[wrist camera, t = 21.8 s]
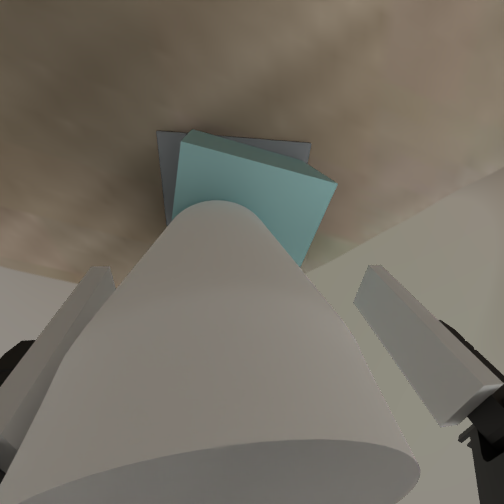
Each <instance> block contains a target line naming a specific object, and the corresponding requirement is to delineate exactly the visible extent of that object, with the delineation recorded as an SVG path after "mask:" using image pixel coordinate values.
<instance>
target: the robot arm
mask: <svg viewBox="0 0 504 504" xmlns="http://www.w3.org/2000/svg"><path fill="white" fill-rule="evenodd" d="M115 290H116V288H115V284H114V280H113V277H112V273H111V269H110V266H98V267H91V268H90V269H89V271H88V272H87V273H86V275H85V276H84V277H83V279H82V280H81V281H80V282H79V284H78V285H77V287H76V288H75V289H74V290H73V292H72V293H71V295H70V296H69V297H68V298H67V300H66V301H65V302H64V304H63V305H62V306H61V308H60V309H59V310H58V312H57V313H56V314H55V316H54V317H53V318H52V319H51V321H50V322H49V323H48V325H47V326H46V327H45V329H44V330H43V331H42V333H41V334H40V335H39V337H38V338H37V339H36V340H30V341H21V342H20V343H18V344H17V345H16V346H14V347H13V348H12V349H10V350H9V351H8V352H6V353H5V354H4V355H3V356H2V357H1V359H0V484H1V482H2V480H3V478H4V477H5V475H6V473H7V471H8V469H9V467H10V465H11V463H12V461H13V459H14V457H15V455H16V453H17V452H18V450H19V448H20V446H21V444H22V442H23V440H24V438H25V436H26V434H27V432H28V430H29V428H30V426H31V424H32V422H33V420H34V418H35V416H36V414H37V412H38V410H39V408H40V406H41V404H42V402H43V400H44V398H45V396H46V393H47V391H48V389H49V387H50V385H51V383H52V380H53V378H54V376H55V374H56V372H57V370H58V368H59V366H60V364H61V362H62V360H63V358H64V356H65V354H66V353H67V352H68V350H69V349H70V347H71V346H72V344H73V343H74V342H75V340H76V339H77V337H78V336H79V335H80V333H81V332H82V330H83V329H84V328H85V327H86V325H87V324H88V323H89V322H90V321H91V319H92V318H93V317H94V316H95V314H96V313H97V312H98V311H99V309H100V308H101V307H102V306H103V305H104V303H105V302H106V301H107V300H108V298H109V297H110V296H111V295H112V293H113V292H114V291H115ZM353 303H354V304H355V306H356V307H357V308H358V310H359V311H360V313H361V314H362V315H363V317H364V318H365V320H366V321H367V323H368V324H369V326H370V327H371V329H372V330H373V331H374V333H375V334H376V336H377V337H378V339H379V340H380V341H381V343H382V344H383V346H384V347H385V349H386V350H387V351H388V353H389V354H390V355H391V357H392V359H393V360H394V361H395V363H396V364H397V366H398V367H399V369H400V370H401V372H402V373H403V374H404V376H405V377H406V379H407V380H408V382H409V383H410V384H411V386H412V387H413V389H414V390H415V392H416V393H417V394H418V396H419V397H420V399H421V400H422V402H423V403H424V404H425V406H426V407H427V409H428V410H429V412H430V413H431V414H432V416H433V417H434V419H435V420H436V422H437V423H438V425H439V426H440V427H446V426H453V425H458V424H459V423H461V422H462V421H463V420H464V419H465V418H466V417H468V418H469V419H470V421H471V422H472V423H473V424H472V425H471V426H470V427H469V428H468V429H466V431H464V432H463V433H462V434H460V435H459V439H458V441H459V442H461V443H462V442H463V441H465V440H466V439H467V438H468V437H470V439H471V441H470V442H469V443H468V444H467V446H468V447H470V448H472V452H473V459H474V466H475V473H476V479H477V486H478V493H479V500H480V504H504V376H503V375H502V374H501V373H500V372H499V371H498V370H497V369H496V368H495V367H494V366H493V365H492V364H491V363H490V362H489V361H488V360H486V359H485V358H484V357H483V356H482V355H481V354H480V353H479V352H478V351H477V350H474V347H473V346H472V345H470V344H469V343H468V342H467V341H465V339H464V338H463V337H462V336H461V335H460V334H459V333H458V332H457V331H456V330H455V329H453V328H452V327H450V326H449V325H447V324H446V323H444V322H443V321H441V320H438V319H437V318H435V317H434V316H433V315H432V314H431V313H430V312H429V311H428V310H427V309H426V308H425V307H424V306H423V305H422V304H421V303H420V302H419V301H418V300H417V299H416V298H415V297H414V296H413V295H412V294H411V293H410V292H409V291H408V290H407V289H406V288H404V287H403V286H402V285H401V284H400V283H399V282H398V281H397V280H396V279H395V278H394V277H393V276H392V275H391V274H390V273H389V272H388V271H387V270H386V269H385V268H384V267H383V266H382V265H368V268H367V270H366V273H365V275H364V277H363V280H362V282H361V285H360V287H359V290H358V292H357V294H356V297H355V300H354V302H353Z"/></svg>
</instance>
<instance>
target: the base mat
mask: <svg viewBox="0 0 504 504" xmlns="http://www.w3.org/2000/svg"><path fill="white" fill-rule="evenodd" d="M156 133H157V142H158V151H159V160H160V169H161V178H162V187H163V196H164V205H165V214H166V224H167V226H168V225H169V224H170V223H171V221H172V213H173V204H174V196H175V187H176V179H177V170H178V162H179V153H180V145H181V141H182V140H183V138H184V137H185V136H186V135H187V134H188V133H181V132H168V131H156ZM215 136H218V135H215ZM218 137H222V138H225V139H229V140H232V141H236V142H239V143H243V144H246V145H250V146H253V147H257V148H260V149H264V150H267V151H271V152H274V153H278V154H281V155H285V156H288V157H292V158H295V159H299V160H302V161H303V162H305V163H306V164H307V163H308V158H309V153H310V148H311V143H306V142H294V141H281V140H269V139H256V138H244V137H231V136H218Z"/></svg>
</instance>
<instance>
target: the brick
mask: <svg viewBox="0 0 504 504" xmlns="http://www.w3.org/2000/svg"><path fill="white" fill-rule="evenodd" d="M337 185H338V184H337V183H336V182H334V181H333V180H331V179H330V178H328V177H327V176H325V175H323V174H322V173H320V172H319V171H317V170H316V169H314V168H313V167H311V166H310V165H308V164H306V163H305V162H303V161H302V160H299V159H295V158H292V157H288V156H285V155H281V154H278V153H274V152H271V151H267V150H264V149H260V148H257V147H253V146H250V145H246V144H243V143H239V142H236V141H232V140H229V139H225V138H222V137H218V136H215V135H212V134H208V133H205V132H201V131H198V130H194V129H192V130H191V131H190V132H189V133H188V134H187V135H186V136H185V137H184V138H183V140H182V141H181V145H180V153H179V162H178V170H177V179H176V187H175V196H174V204H173V213H172V220H173V219H174V218H175V217H176V216H177V215H178V214H179V213H180V212H182V211H183V210H185V209H186V208H188V207H190V206H192V205H194V204H197V203H200V202H204V201H211V200H222V201H229V202H233V203H236V204H239V205H242V206H244V207H246V208H247V209H249V210H250V211H252V212H253V213H254V214H255V215H256V216H257V217H258V218H259V219H260V220H261V221H262V222H263V224H264V225H265V226H266V227H267V229H268V230H269V231H270V232H271V233H272V235H273V236H274V237H275V238H276V239H277V241H278V242H279V243H280V244H281V245H282V247H283V248H284V249H285V250H286V251H287V253H288V254H289V255H290V256H291V257H292V259H293V260H294V261H295V262H296V263H297V265H298V266H299V267H300V266H301V264H302V262H303V260H304V258H305V255H306V253H307V251H308V249H309V247H310V244H311V242H312V240H313V238H314V235H315V233H316V231H317V229H318V227H319V224H320V222H321V220H322V218H323V216H324V213H325V211H326V209H327V207H328V205H329V202H330V200H331V198H332V196H333V193H334V191H335V189H336V187H337ZM171 222H172V221H171Z"/></svg>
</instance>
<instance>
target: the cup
mask: <svg viewBox="0 0 504 504" xmlns="http://www.w3.org/2000/svg"><path fill="white" fill-rule="evenodd" d="M419 477H420V468H419V465H418V463H417V461H416V459H415V457H414V455H413V453H412V451H411V449H410V448H409V445H408V444H407V441H406V440H405V438H404V436H403V434H402V432H401V430H400V428H399V426H398V424H397V422H396V421H395V418H394V416H393V415H392V413H391V411H390V409H389V407H388V405H387V403H386V401H385V399H384V397H383V395H382V394H381V391H380V389H379V387H378V385H377V383H376V381H375V379H374V378H373V375H372V373H371V371H370V369H369V367H368V365H367V363H366V361H365V359H364V357H363V355H362V352H361V350H360V348H359V346H358V344H357V342H356V340H355V338H354V336H353V334H352V333H351V331H350V330H349V328H348V327H347V325H346V324H345V323H344V321H343V320H342V318H341V317H340V316H339V315H338V313H337V312H336V311H335V310H334V308H333V307H332V306H331V305H330V303H329V302H328V301H327V300H326V299H325V297H324V296H323V295H322V294H321V293H320V291H319V290H318V289H317V288H316V286H315V285H314V284H313V283H312V282H311V281H310V279H309V278H308V277H307V276H306V274H305V273H304V272H303V271H302V270H301V268H300V267H299V266H298V265H297V263H296V262H295V261H294V260H293V259H292V257H291V256H290V255H289V254H288V253H287V251H286V250H285V249H284V248H283V247H282V245H281V244H280V243H279V242H278V241H277V239H276V238H275V237H274V236H273V235H272V233H271V232H270V231H269V230H268V229H267V227H266V226H265V225H264V224H263V222H262V221H261V220H260V219H259V218H258V217H257V216H256V215H255V214H254V213H253V212H252V211H250V210H249V209H247V208H246V207H244V206H242V205H239V204H236V203H233V202H229V201H222V200H211V201H204V202H200V203H197V204H194V205H192V206H190V207H188V208H186V209H185V210H183V211H182V212H180V213H179V214H178V215H177V216H176V217H175V218H174V219H173V220H172V222H171V223H170V224H169V225H168V226H167V228H166V229H165V230H164V231H163V232H162V234H161V235H160V236H159V237H158V239H157V240H156V241H155V242H154V243H153V245H152V246H151V247H150V248H149V250H148V251H147V252H146V253H145V254H144V256H143V257H142V258H141V259H140V261H139V262H138V263H137V264H136V265H135V267H134V268H133V269H132V270H131V271H130V273H129V274H128V275H127V276H126V278H125V279H124V280H123V281H122V282H121V284H120V285H119V286H118V287H117V289H116V290H115V291H114V292H113V293H112V295H111V296H110V297H109V298H108V300H107V301H106V302H105V303H104V305H103V306H102V307H101V308H100V309H99V311H98V312H97V313H96V314H95V316H94V317H93V318H92V319H91V321H90V322H89V323H88V324H87V325H86V327H85V328H84V329H83V330H82V332H81V333H80V335H79V336H78V337H77V339H76V340H75V342H74V343H73V344H72V346H71V347H70V349H69V350H68V352H67V353H66V354H65V356H64V358H63V360H62V362H61V364H60V366H59V368H58V370H57V372H56V374H55V376H54V378H53V380H52V383H51V385H50V387H49V389H48V391H47V393H46V396H45V398H44V400H43V402H42V404H41V406H40V408H39V410H38V412H37V414H36V416H35V418H34V420H33V422H32V424H31V426H30V428H29V430H28V432H27V434H26V436H25V438H24V440H23V442H22V444H21V446H20V448H19V450H18V452H17V453H16V455H15V457H14V459H13V461H12V463H11V465H10V467H9V469H8V471H7V473H6V475H5V477H4V479H3V481H2V483H1V484H0V504H396V503H397V502H398V501H400V500H401V499H402V498H403V497H405V496H406V495H407V494H408V493H409V492H410V491H411V490H412V489H413V488H414V487H415V485H416V484H417V482H418V480H419Z"/></svg>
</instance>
